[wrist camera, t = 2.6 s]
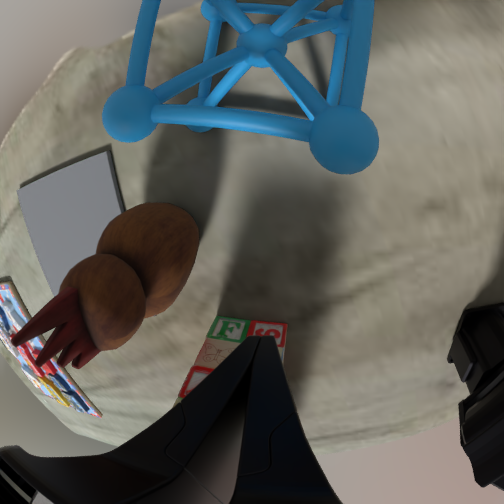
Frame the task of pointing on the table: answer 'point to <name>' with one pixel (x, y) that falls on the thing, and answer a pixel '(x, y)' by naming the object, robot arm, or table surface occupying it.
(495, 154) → the table surface
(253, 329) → the stack of blocks
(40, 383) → the puzzle board
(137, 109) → the molecular structure
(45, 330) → the wooden figurine
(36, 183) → the felt mat
